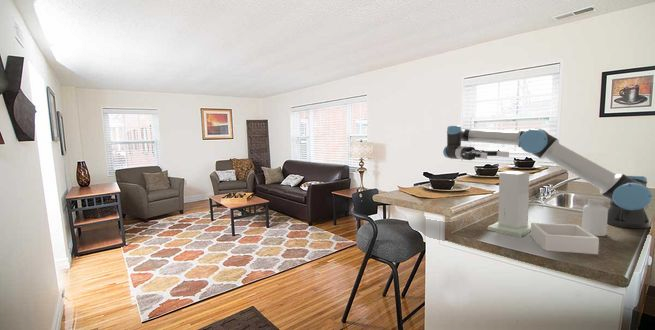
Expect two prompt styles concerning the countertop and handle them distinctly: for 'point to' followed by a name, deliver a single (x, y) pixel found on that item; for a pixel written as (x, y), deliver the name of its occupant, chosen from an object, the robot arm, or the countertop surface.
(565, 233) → the tray
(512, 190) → the tall white carton
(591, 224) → the pill bottle
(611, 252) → the countertop surface
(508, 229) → the cutting board
